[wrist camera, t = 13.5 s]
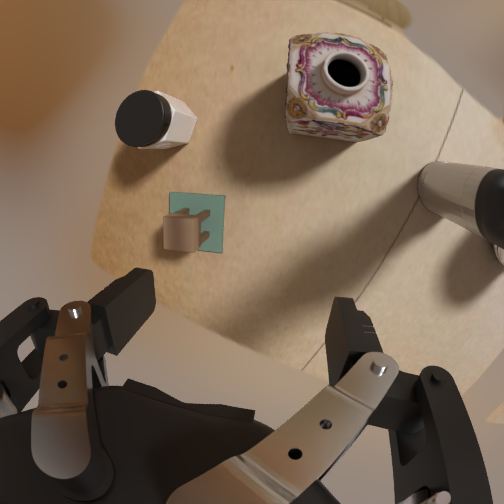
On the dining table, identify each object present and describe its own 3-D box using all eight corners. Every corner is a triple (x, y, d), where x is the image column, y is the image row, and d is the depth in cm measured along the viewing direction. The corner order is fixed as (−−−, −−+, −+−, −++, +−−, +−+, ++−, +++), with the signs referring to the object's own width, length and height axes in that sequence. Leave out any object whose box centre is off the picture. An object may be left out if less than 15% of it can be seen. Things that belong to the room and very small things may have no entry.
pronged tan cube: (210, 209, 45) (194, 220, 38) (209, 237, 47) (194, 253, 40) (183, 207, 46) (163, 217, 38) (183, 234, 48) (163, 248, 40)
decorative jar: (362, 78, 34) (399, 37, 18) (359, 143, 38) (400, 135, 22) (290, 67, 36) (286, 16, 19) (286, 133, 40) (280, 115, 23)
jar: (155, 153, 44) (115, 154, 32) (149, 111, 41) (109, 102, 30) (201, 141, 42) (170, 137, 31) (194, 97, 39) (163, 80, 28)
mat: (225, 195, 44) (224, 196, 44) (222, 252, 48) (221, 252, 48) (170, 192, 46) (169, 192, 45) (170, 245, 49) (170, 246, 49)
